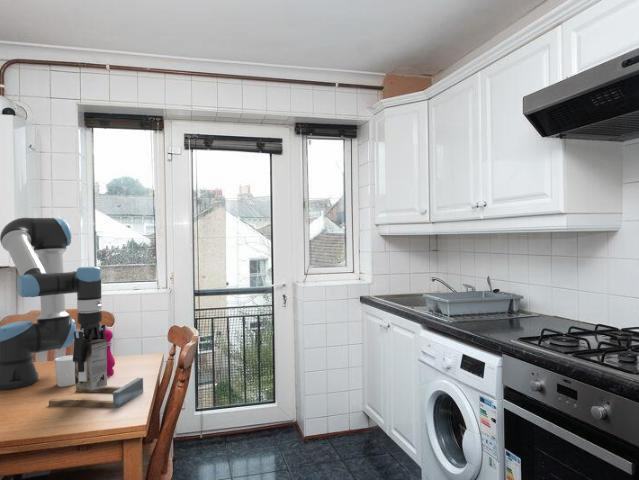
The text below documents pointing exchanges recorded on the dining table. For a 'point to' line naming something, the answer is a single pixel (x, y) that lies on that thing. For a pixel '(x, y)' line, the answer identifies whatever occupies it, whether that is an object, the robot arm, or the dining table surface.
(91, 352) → the coffee box
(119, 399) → the guide channel
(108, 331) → the pepper mill
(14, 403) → the dining table surface
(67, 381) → the white cup
